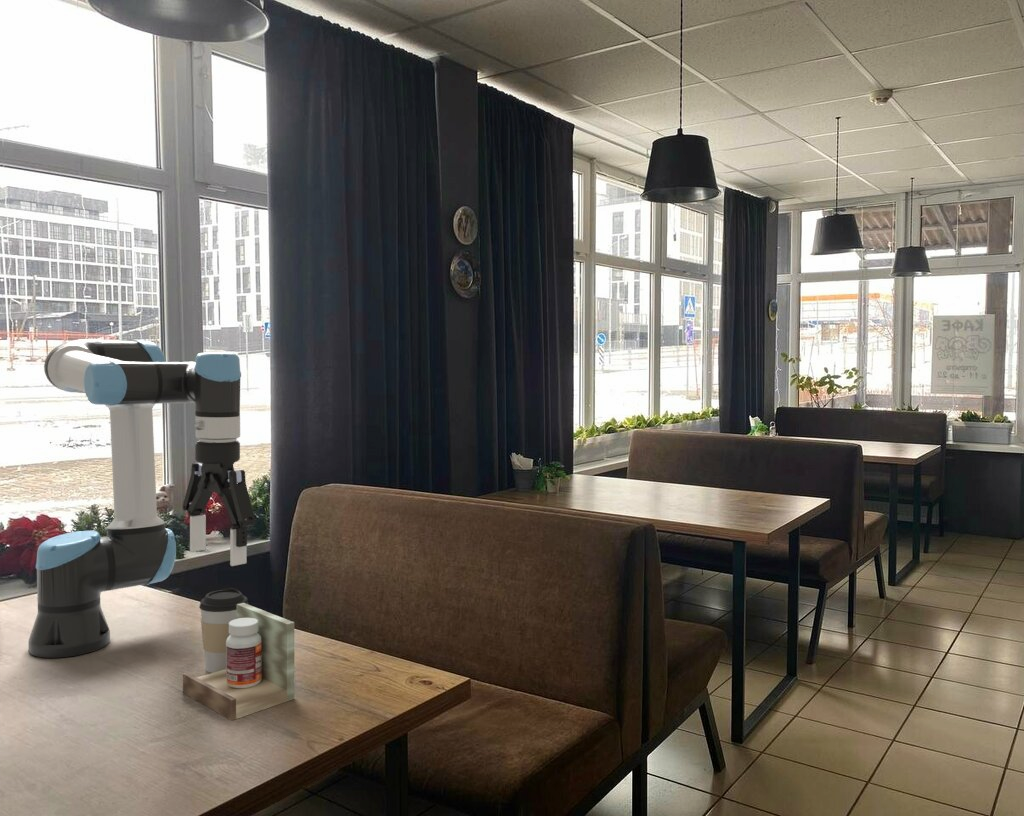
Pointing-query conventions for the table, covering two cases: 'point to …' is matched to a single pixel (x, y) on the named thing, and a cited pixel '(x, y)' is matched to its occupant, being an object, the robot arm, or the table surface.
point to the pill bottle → (243, 654)
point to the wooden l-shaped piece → (274, 671)
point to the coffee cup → (218, 624)
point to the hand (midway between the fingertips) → (217, 557)
